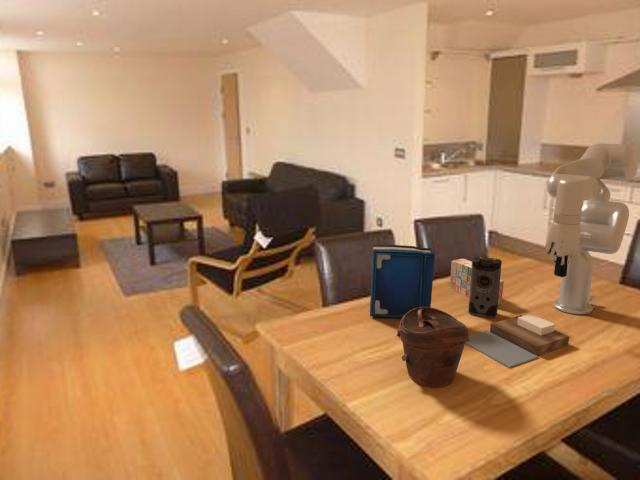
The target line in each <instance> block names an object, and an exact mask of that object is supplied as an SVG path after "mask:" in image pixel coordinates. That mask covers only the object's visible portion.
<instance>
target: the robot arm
mask: <svg viewBox="0 0 640 480" xmlns="http://www.w3.org/2000/svg"><path fill="white" fill-rule="evenodd" d="M637 160H638V159H637V156H636V153H635V151H634V149H633V148H632V147H631V146H630V145H629V144H624V143H623V144H622V143H595V144H592V145H590V146H589V147H588V148H587V149H586V150H585V152H584V153H583V154H582V156H581V157H580V158H579V159H577V160H574V161H570V162H567V163H565V164H562V165H560V166H558V167H556V169H555V170H554V171H553V172H552V174H551V175H550V177H549V179H548V181H547V185H546V188H547V189H546V190H547V192H548V194H549V196H550V197H552V198H555V204H554V211H553V222H552V223H551V225H550V228H549V231H548V236H547V241H546V247H545V252H546V254H548V255H549V258H548V259H549V260H551V261H554V262H553V263H554V264H555V265H554V271H553V274H554V276H557V277H560V278H561V279H560V287H559V294H558V295H559V297H558V298H557V299H555V300H554V301H553V306H554V308H556V309H557V310H559V311H560V312H561V311H562V312H564V313H566V314H573V315H589V314H591V313H592V312H593V308H594V307H593V306H592V304H590V302H591V301H595V299H596V295H595V294H590V293H591V286H592V280H593V273H594V267H595V264H594V260H593V258H592V256H591V254H590V252H593V253H600V254H604V255H605V254H607V255H614V254H616V253H618V252H619V250H620V248H621V245H622V242H623V240H624V235H625V232H626V229H627V227H628V222H629V218H630V210H629V207H628V205H627V204H625V203H624V202H619V201H610V199H611V192H610V191H611V190H609V188H608V187H607V185H606V184H605V183H604V182H603V181H601V180H612V181H623V182H624V181H625V182H626V181H631V180H633V179H634V178H635V176H636V175H637V172H638V167H639V166H638V165H639V164H638V161H637Z"/></svg>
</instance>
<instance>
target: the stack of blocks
mask: <svg viewBox="0 0 640 480" xmlns="http://www.w3.org/2000/svg"><path fill="white" fill-rule="evenodd" d="M450 267H451V268H450V282H449V283H450V284H449V285H450V287H449V289H450V290H451V291H453V292H456V293H458V294H460V295H462V296H464V297H467V298H469V297H470V282H471V269H472V260H468V259H466V258H459V259H453V260H451V264H450ZM504 282H505V281H504V280H503V279H500V287H499V297H498V306H499V305H501V304H502V302H503V291H504Z"/></svg>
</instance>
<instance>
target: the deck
mask: <svg viewBox="0 0 640 480" xmlns="http://www.w3.org/2000/svg"><path fill="white" fill-rule="evenodd" d="M522 316H523V315H522V314H521V315H517V316H513V317H510V318H506V319H502V320H499V321H496V322H492V323H490V326H489V327H490V328H489V332H491V333H493V334H495V335H497V336H499V337H501V338H503V339H505V340H507V341H509V342H511V343H512V344H514V345H516V346H518V347H520V348H522V349H524V350H526V351H528V352H530V353H532V354H534V355H536V356H538V357H539V356H541V355H543V354H547V353H550V352H553V351H555V350H558V349H561V348H564V347H567V346H569V341H570V336H569V335H567V334H565V333H563V332H560V331H558V330H556V329H554V331H553V332H550V333H547V334H544V335H539V334H537V333H535V332H532V331H530V330H528V329H526V328H524V327H522V326H519V325H517V321H518V317H522Z"/></svg>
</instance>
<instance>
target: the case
mask: <svg viewBox="0 0 640 480" xmlns="http://www.w3.org/2000/svg"><path fill="white" fill-rule="evenodd" d="M396 333H397V334H396V337H398V339H399V340H400V341H401V343H402V348H403V352H404V354H403V355H402V356H401V359H402V361H404V362H405V365H406V371H407V374H408V377H409V378H410V379H411V380H413V382H415V383H417V384H419V385H421V386H423V387H430V388H441V387H446V386H449V385H451V384H452V383H453V382H454V380H455V378H456V373H457V370H458V367H459V365H460V361H461V359H462V355H463V352H464V349H465V346H466V344H465V342H470V340H469V330H468V327H467V326H466V324H464V323H463V322H462V321H460V320H458V319H457V318H456V317H454V316H452V315H451V314H449V313H447V312H446V311H443V310H441V309H438V308H435V307H418V308H414V309H412V310H410V311H409V312H407V313H406V314H405V315H404V316H403V318H400V322H399V325H398V328H397V332H396Z"/></svg>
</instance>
